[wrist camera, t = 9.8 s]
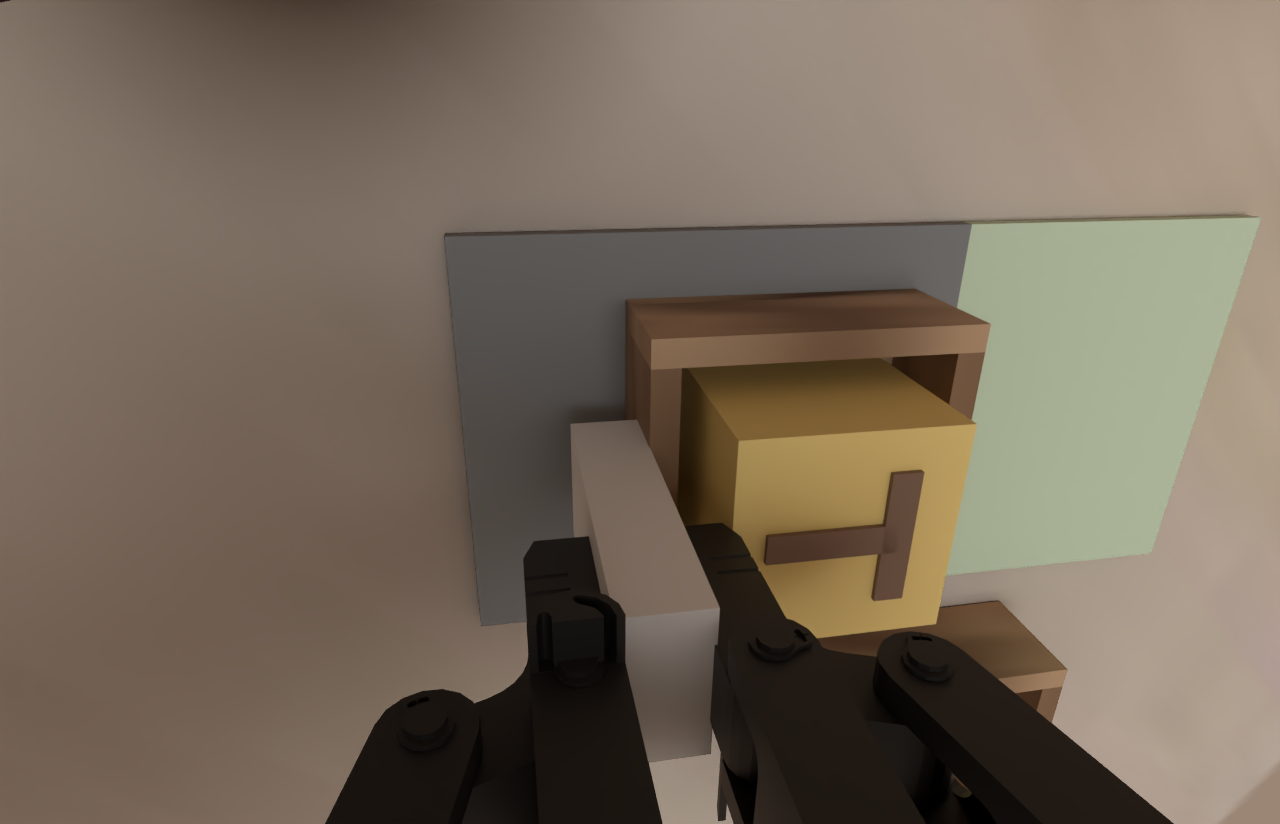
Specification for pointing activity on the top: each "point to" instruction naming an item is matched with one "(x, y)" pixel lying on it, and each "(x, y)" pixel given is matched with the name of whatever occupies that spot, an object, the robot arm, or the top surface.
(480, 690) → the top surface
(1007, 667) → the box
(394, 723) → the robot arm
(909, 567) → the letter cube
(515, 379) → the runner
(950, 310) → the box
